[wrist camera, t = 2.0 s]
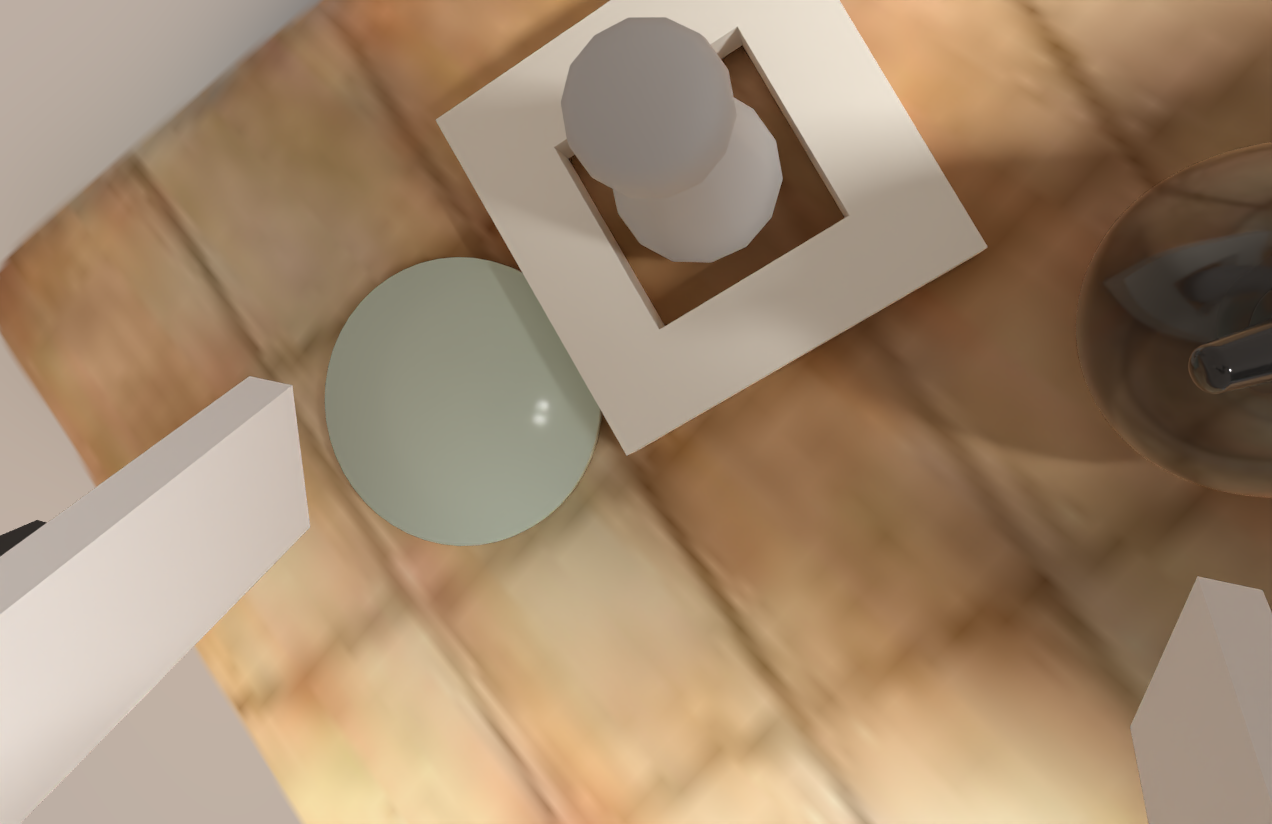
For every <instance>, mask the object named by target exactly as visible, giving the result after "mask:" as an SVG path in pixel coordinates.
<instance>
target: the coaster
mask: <svg viewBox="0 0 1272 824" xmlns="http://www.w3.org/2000/svg"><path fill="white" fill-rule="evenodd" d="M325 413H326V422H327V427H328V432H329V437H330V441H331V444H332V447H333V450H334V453H335V456H336V458H337V460H338V462H339V464H340V466H341V469H342V471H343V473H344V474H345V476H346V477H347V479H348V481H349V482H350V484H351V485H352V487H353V488H354V490H355V491H356V492H357V493H358V494H359V496H360V497H361V498H362V499H363V501H364V502H365V503H366V504H367V505H368V506H369V507H371V508H372V509H373V510H374V511H375V512H376V513H377V514H378V515H379V516H381V517H382V518H383V519H385V520H386V521H388V522H389V523H390V524H392V525H393V526H395V527H397V528H399V529H401V530H402V531H404V532H406V533H408V534H410V535H413V536H416V537H418V538H421V539H423V540H427V541H431V542H435V543H439V544H445V545H455V546H473V545H482V544H488V543H493V542H497V541H500V540H504V539H507V538H510V537H513V536H515V535H517V534H519V533H521V532H523V531H525V530H527V529H529V528H531V527H533V526H534V525H536V524H537V523H539V522H540V521H542V520H543V519H545V518H546V517H548V516H549V515H550V514H551V513H552V512H554V511H555V510H556V509H557V508H558V507H559V506H560V505H561V504H562V503H563V502H564V501H565V500H566V499H567V498H568V496H569V495H570V494H571V493H572V492H573V491H574V489H575V488H576V486H577V485H578V483H579V481H580V480H581V478H582V477H583V475H584V473H585V471H586V469H587V467H588V465H589V463H590V461H591V459H592V456H593V453H594V450H595V447H596V444H597V441H598V436H599V431H600V425H601V418H602V411H601V410H600V408H599V406H598V404H597V403H596V401H595V399H594V397H593V396H592V394H591V392H590V390H589V389H588V387H587V385H586V383H585V382H584V380H583V378H582V376H581V375H580V373H579V371H578V369H577V368H576V366H575V364H574V362H573V361H572V359H571V357H570V355H569V354H568V352H567V350H566V348H565V347H564V345H563V343H562V341H561V340H560V338H559V336H558V334H557V333H556V331H555V329H554V327H553V326H552V324H551V322H550V320H549V319H548V317H547V315H546V313H545V311H544V310H543V308H542V306H541V304H540V303H539V301H538V299H537V297H536V296H535V294H534V292H533V290H532V289H531V287H530V285H529V283H528V282H527V280H526V278H525V276H524V275H523V273H522V272H521V271H519V270H517V269H514V268H512V267H509V266H505V265H502V264H499V263H496V262H493V261H489V260H483V259H478V258H466V257H452V258H442V259H435V260H431V261H427V262H423V263H419V264H417V265H414V266H412V267H409V268H407V269H404V270H402V271H400V272H399V273H397V274H395V275H393V276H392V277H390V278H388V279H387V280H385V281H384V282H383V283H381V284H380V285H379V286H377V287H376V288H375V289H374V290H373V291H371V292H370V293H369V294H368V295H367V296H366V297H365V298H364V299H363V300H362V301H361V302H360V304H359V305H358V306H357V308H356V309H355V310H354V311H353V313H352V314H351V315H350V317H349V318H348V320H347V322H346V324H345V325H344V327H343V329H342V330H341V332H340V334H339V337H338V339H337V341H336V344H335V346H334V348H333V352H332V355H331V359H330V362H329V365H328V371H327V377H326V383H325Z"/></svg>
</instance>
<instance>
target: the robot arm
mask: <svg viewBox="0 0 1272 824" xmlns="http://www.w3.org/2000/svg"><path fill="white" fill-rule="evenodd" d="M309 528H310V520H309V513H308V505H307V497H306V489H305V481H304V473H303V465H302V457H301V450H300V442H299V434H298V426H297V418H296V410H295V402H294V394H293V387H292V385H289V384H284V383H280V382H275V381H270V380H265V379H261V378H256V377H251V376H249V377H247V378H246V379H245V380H243V381H242V382H241V383H239V384H238V385H236V386H235V387H234V388H232V389H231V390H229V391H228V392H227V393H225V394H224V395H223V396H221V397H220V398H218V399H217V400H216V401H214V402H213V403H212V404H210V405H209V406H207V407H206V408H205V409H203V410H202V411H200V412H199V413H198V414H196V415H195V416H194V417H192V418H191V419H189V420H188V421H187V422H185V423H184V424H183V425H181V426H180V427H178V428H177V429H176V430H174V431H173V432H172V433H170V434H169V435H167V436H166V437H165V438H163V439H162V440H160V441H159V442H158V443H156V444H155V445H154V446H152V447H151V448H149V449H148V450H147V451H145V452H144V453H143V454H141V455H140V456H138V457H137V458H136V459H134V460H133V461H131V462H130V463H129V464H127V465H126V466H125V467H123V468H122V469H120V470H119V471H118V472H116V473H115V474H114V475H112V476H111V477H109V478H108V479H107V480H105V481H104V482H102V483H101V484H100V485H98V486H97V487H96V488H94V489H93V490H92V491H90V492H89V493H87V494H86V495H85V496H83V497H82V498H80V499H79V500H78V501H76V502H75V503H74V504H72V505H71V506H69V507H68V508H67V509H65V510H64V511H62V512H61V513H60V514H58V515H57V516H56V517H54V518H53V519H52V520H50V521H49V522H47V523H46V522H42V521H39V520H36V521H34V522H31V523H29V524H27V525H24V526H22V527H20V528H17V529H15V530H13V531H10V532H8V533H6V534H3V535H1V536H0V824H21V823H22V822H23V820H25V819H26V817H27V816H28V815H29V814H30V813H31V812H32V811H33V810H34V809H35V808H36V807H37V806H38V805H39V804H40V803H41V802H42V801H43V800H44V799H45V798H46V797H47V796H48V795H49V794H50V793H51V792H52V791H53V790H54V789H55V788H56V787H57V786H58V785H59V784H60V783H61V782H62V781H63V780H64V779H65V778H66V777H67V775H68V774H69V773H70V772H71V771H72V770H73V769H74V768H75V767H76V766H77V765H78V764H79V763H80V762H81V761H82V760H83V759H84V758H85V757H86V756H87V755H88V754H89V753H90V752H91V751H92V750H93V749H94V748H95V747H96V746H97V745H98V744H99V743H100V742H101V741H102V740H103V739H104V738H105V737H106V735H107V734H109V733H110V732H111V730H112V729H113V728H114V727H115V726H116V725H117V724H118V723H119V722H120V721H121V720H122V719H123V718H124V717H125V716H126V715H127V714H128V713H129V712H130V711H131V710H132V709H133V708H134V707H135V706H136V705H137V704H138V703H139V702H140V701H141V700H142V699H143V698H144V697H145V696H146V695H147V693H148V692H150V691H151V690H152V689H153V687H154V686H155V685H156V684H157V683H158V682H159V681H160V680H161V679H162V678H163V677H164V676H165V675H166V674H167V673H168V672H169V671H170V670H171V669H172V668H173V667H174V666H175V665H176V664H177V663H178V662H179V661H180V660H181V659H182V658H183V657H184V656H185V655H186V654H187V653H188V652H189V651H190V650H191V649H192V648H193V647H194V646H195V645H196V644H197V642H198V641H199V640H200V639H201V638H202V637H203V636H204V635H205V634H206V633H207V632H208V631H209V630H210V629H211V628H212V627H213V626H214V625H215V624H216V623H217V622H218V621H219V620H220V619H221V618H222V617H223V616H224V615H225V614H226V613H227V612H228V611H229V610H230V609H231V608H232V607H233V606H234V605H235V604H236V603H237V602H238V601H239V599H240V598H241V597H242V596H243V595H244V594H245V593H246V592H247V591H248V590H249V589H250V588H251V587H252V586H253V585H254V584H255V583H256V582H257V581H258V580H259V579H260V578H261V577H262V576H263V575H264V574H265V573H266V572H267V571H268V570H269V569H270V568H271V567H272V566H273V565H274V564H275V563H276V562H277V561H278V560H279V559H280V558H281V557H282V555H283V554H284V553H285V552H286V551H287V550H288V549H289V548H290V547H291V546H292V545H293V544H294V543H295V542H296V541H297V540H298V539H299V538H300V537H301V536H302V535H303V534H304V533H305V532H306V531H307V530H308V529H309ZM1130 729H1131V735H1132V740H1133V745H1134V750H1135V755H1136V761H1137V766H1138V771H1139V776H1140V781H1141V787H1142V792H1143V797H1144V802H1145V807H1146V813H1147V818H1148V823H1149V824H1272V612H1271V609H1270V607H1269V604H1268V602H1267V600H1266V597H1265V595H1264V592H1263V590H1261V589H1256V588H1251V587H1246V586H1242V585H1237V584H1232V583H1227V582H1223V581H1218V580H1213V579H1208V578H1204V577H1199V576H1197V578H1196V581H1195V583H1194V585H1193V587H1192V590H1191V592H1190V594H1189V596H1188V599H1187V601H1186V603H1185V605H1184V607H1183V610H1182V612H1181V614H1180V616H1179V619H1178V621H1177V623H1176V625H1175V628H1174V630H1173V632H1172V634H1171V636H1170V639H1169V641H1168V643H1167V645H1166V648H1165V650H1164V652H1163V654H1162V657H1161V659H1160V661H1159V663H1158V665H1157V668H1156V670H1155V672H1154V674H1153V677H1152V679H1151V681H1150V683H1149V686H1148V688H1147V690H1146V692H1145V694H1144V697H1143V699H1142V701H1141V703H1140V706H1139V708H1138V710H1137V712H1136V715H1135V717H1134V719H1133V721H1132V724H1131V726H1130Z"/></svg>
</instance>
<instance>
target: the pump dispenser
mask: <svg viewBox="0 0 1272 824" xmlns="http://www.w3.org/2000/svg"><path fill="white" fill-rule="evenodd" d="M1076 341H1077V350H1078V356H1079V361H1080V365H1081V369H1082V372H1083V376H1084V378H1085V381H1086V384H1087V386H1088V389H1089V391H1090V393H1091V395H1092V397H1093V399H1094V401H1095V403H1096V405H1097V407H1098V408H1099V410H1100V412H1101V413H1102V415H1103V416H1104V417H1105V419H1106V420H1107V422H1108V423H1109V424H1110V426H1111V427H1112V428H1113V429H1114V430H1115V432H1116V433H1117V434H1118V435H1119V436H1120V437H1121V438H1122V439H1123V440H1124V441H1125V442H1126V443H1127V444H1128V445H1129V446H1130V447H1132V448H1133V449H1134V450H1135V451H1136V452H1138V453H1139V454H1140V455H1141V456H1143V457H1144V458H1146V459H1147V460H1148V461H1150V462H1151V463H1153V464H1155V465H1156V466H1158V467H1160V468H1161V469H1163V470H1165V471H1167V472H1169V473H1171V474H1173V475H1175V476H1177V477H1179V478H1182V479H1184V480H1186V481H1189V482H1192V483H1195V484H1197V485H1200V486H1204V487H1207V488H1210V489H1214V490H1218V491H1223V492H1227V493H1233V494H1239V495H1245V496H1254V497H1267V498H1272V142H1268V143H1262V144H1256V145H1252V146H1247V147H1243V148H1239V149H1235V150H1231V151H1228V152H1224V153H1221V154H1218V155H1215V156H1212V157H1210V158H1207V159H1204V160H1202V161H1200V162H1197V163H1195V164H1193V165H1191V166H1188V167H1186V168H1184V169H1182V170H1180V171H1178V172H1177V173H1175V174H1173V175H1171V176H1169V177H1168V178H1166V179H1164V180H1163V181H1161V182H1160V183H1158V184H1157V185H1155V186H1154V187H1152V188H1151V189H1150V190H1148V191H1147V192H1146V193H1144V194H1143V195H1142V196H1141V197H1139V198H1138V199H1137V200H1136V201H1135V202H1134V203H1133V204H1132V205H1130V206H1129V207H1128V208H1127V209H1126V210H1125V211H1124V212H1123V213H1122V215H1121V216H1120V217H1119V218H1118V219H1117V220H1116V221H1115V223H1114V224H1113V225H1112V226H1111V228H1110V229H1109V230H1108V232H1107V233H1106V235H1105V236H1104V238H1103V239H1102V241H1101V242H1100V244H1099V246H1098V247H1097V249H1096V251H1095V253H1094V255H1093V257H1092V259H1091V261H1090V263H1089V266H1088V268H1087V271H1086V274H1085V276H1084V279H1083V283H1082V286H1081V290H1080V295H1079V300H1078V306H1077V315H1076Z"/></svg>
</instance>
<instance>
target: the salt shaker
mask: <svg viewBox="0 0 1272 824" xmlns="http://www.w3.org/2000/svg"><path fill="white" fill-rule="evenodd" d="M561 107H562V113H563V119H564V125H565V131H566V137H567V141H568V144H569V147H570V149H571V150H572V151H573V153H574V154H575V155H576V157H577V158H578V159H579V161H580V162H581V164H582V165H583V166H584V168H585V169H586V170H587V172H588V173H589V174H590V176H591V177H592V178H594V179H595V180H597V181H599V182H601V183H603V184H605V185H606V186H608V187H610V188H612V189H613V193H614V197H615V202H616V207H617V211H618V214H619V216H620V217H621V218H622V220H623V221H624V223H625V224H626V225H627V227H628V228H629V229H630V231H631V232H632V233H633V235H634V236H635V237H636V239H637V240H638V242H639V243H640V244H641V245H643V246H645V247H647V248H649V249H650V250H652V251H654V252H656V253H658V254H660V255H661V256H663V257H665V258H667V259H669V260H671V261H672V262H709V263H711V262H714V261H716V260H718V259H721V258H723V257H725V256H727V255H729V254H732V253H734V252H736V251H738V250H741V249H743V248H745V247H747V246H748V244H749V243H750V242H751V241H752V240H753V239H754V237H755V236H756V235H757V234H758V233H759V232H760V230H761V229H762V228H763V227H764V226H765V225H766V224H767V222H768V221H769V220H770V219H771V217H772V215H773V211H774V208H775V204H776V201H777V197H778V194H779V190H780V187H781V183H782V180H783V177H782V171H781V166H780V160H779V155H778V149H777V144H776V140H775V139H774V137H773V136H772V134H771V133H770V132H769V130H768V129H767V127H766V126H765V125H764V123H763V122H762V120H761V119H760V118H759V116H758V115H757V113H756V112H755V111H754V109H752V108H751V107H749V106H747V105H746V104H744V103H742V102H741V101H739V100H737V99H736V98H734V97H733V91H732V86H731V81H730V75H729V70H728V69H727V67H726V66H725V64H724V63H723V62H722V60H721V59H720V57H719V56H718V55H717V53H716V52H715V50H714V49H713V48H712V46H711V45H710V43H709V42H708V41H707V39H706V38H705V37H704V36H702V35H701V34H700V33H698V32H696V31H694V30H691V29H689V28H687V27H685V26H683V25H681V24H679V23H677V22H675V21H673V20H670V19H668V18H666V17H628V18H626V19H624V20H623V21H621V22H619V23H617V24H615V25H613V26H611V27H609V28H607V29H605V30H603V31H602V32H600V33H598V34H596V35H594V36H593V38H592V39H591V40H590V41H589V42H588V44H587V45H586V46H585V47H584V49H583V50H582V51H581V52H580V54H579V55H578V56H577V57H576V58H575V60H574V61H573V62H572V63H571V65H570V67H569V71H568V75H567V79H566V83H565V87H564V91H563V95H562V99H561Z"/></svg>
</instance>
